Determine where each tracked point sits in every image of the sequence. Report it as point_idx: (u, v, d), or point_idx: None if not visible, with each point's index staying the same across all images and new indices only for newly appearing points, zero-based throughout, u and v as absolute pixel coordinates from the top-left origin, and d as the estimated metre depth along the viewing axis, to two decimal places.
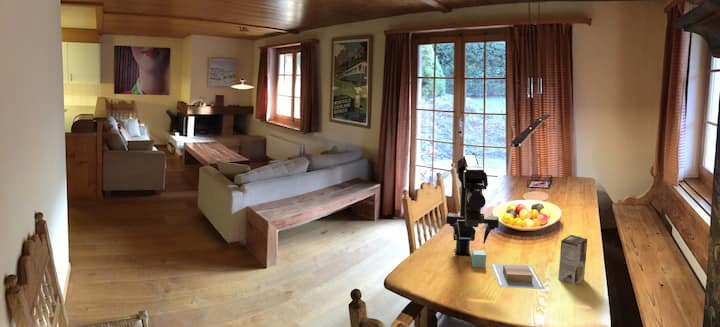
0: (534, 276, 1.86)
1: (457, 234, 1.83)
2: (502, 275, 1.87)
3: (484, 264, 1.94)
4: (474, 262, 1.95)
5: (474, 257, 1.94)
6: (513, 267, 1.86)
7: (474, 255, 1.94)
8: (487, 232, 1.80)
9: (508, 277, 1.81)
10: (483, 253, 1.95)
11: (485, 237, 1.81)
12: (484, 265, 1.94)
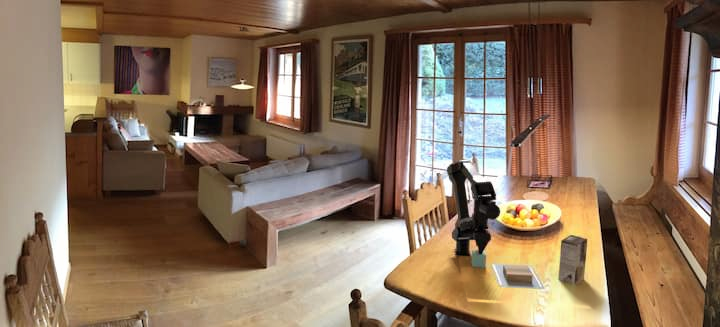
0: (534, 276, 1.86)
1: None
2: (502, 275, 1.87)
3: (484, 264, 1.94)
4: (474, 262, 1.95)
5: (474, 257, 1.94)
6: (513, 267, 1.86)
7: (474, 255, 1.94)
8: (477, 243, 1.90)
9: (508, 277, 1.81)
10: (483, 253, 1.95)
11: (478, 247, 1.91)
12: (484, 265, 1.94)
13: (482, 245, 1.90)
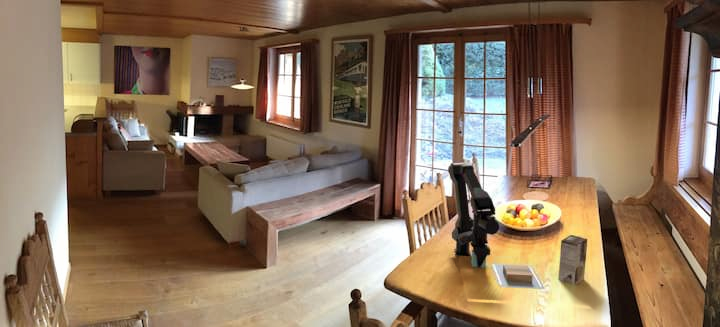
0: (534, 276, 1.86)
1: None
2: (502, 275, 1.87)
3: (484, 264, 1.94)
4: (474, 262, 1.95)
5: (474, 257, 1.94)
6: (513, 267, 1.86)
7: (474, 255, 1.94)
8: (476, 255, 1.93)
9: (508, 277, 1.81)
10: None
11: None
12: (484, 265, 1.94)
13: (481, 258, 1.93)
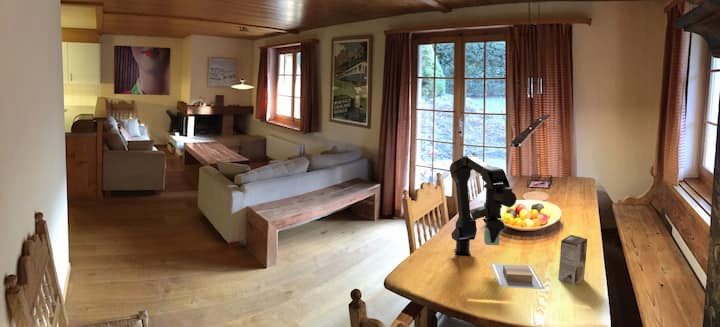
0: (534, 276, 1.86)
1: None
2: (502, 275, 1.87)
3: (497, 240, 1.88)
4: (487, 238, 1.88)
5: (487, 232, 1.88)
6: (513, 267, 1.86)
7: (487, 230, 1.88)
8: (489, 231, 1.87)
9: (508, 277, 1.81)
10: None
11: (490, 236, 1.88)
12: (497, 241, 1.88)
13: (494, 233, 1.86)
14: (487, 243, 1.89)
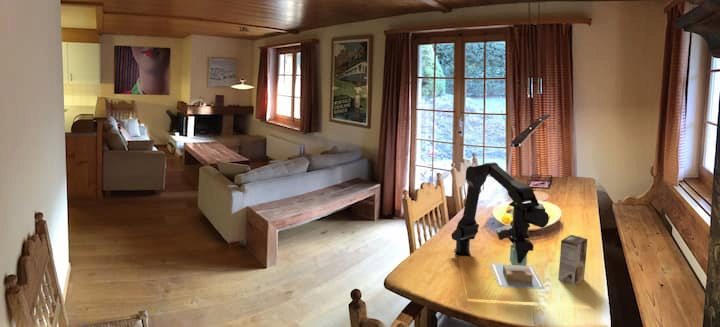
0: (534, 276, 1.86)
1: None
2: (502, 275, 1.87)
3: (525, 260, 1.81)
4: (514, 258, 1.81)
5: (514, 252, 1.81)
6: (513, 267, 1.86)
7: (514, 250, 1.81)
8: None
9: (508, 277, 1.81)
10: None
11: (517, 256, 1.80)
12: (525, 261, 1.81)
13: (522, 253, 1.79)
14: (514, 263, 1.82)
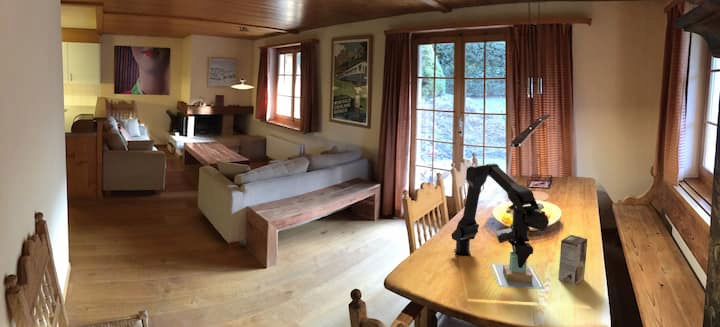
0: (534, 276, 1.86)
1: (513, 251, 1.88)
2: (502, 275, 1.87)
3: (524, 267, 1.81)
4: (514, 265, 1.82)
5: (514, 259, 1.81)
6: None
7: (514, 257, 1.81)
8: (517, 256, 1.78)
9: (508, 277, 1.81)
10: None
11: None
12: (524, 268, 1.81)
13: (522, 258, 1.78)
14: (513, 270, 1.82)
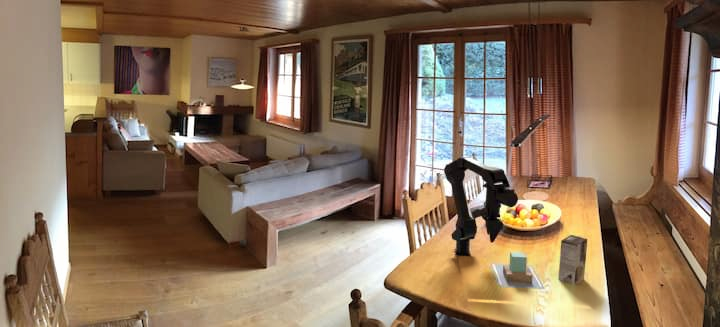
0: (534, 276, 1.86)
1: (486, 227, 2.00)
2: (502, 275, 1.87)
3: (524, 267, 1.81)
4: (514, 265, 1.82)
5: (514, 259, 1.81)
6: None
7: (514, 257, 1.81)
8: (489, 231, 1.90)
9: (508, 277, 1.81)
10: (523, 255, 1.82)
11: None
12: (524, 268, 1.81)
13: (494, 233, 1.90)
14: (513, 270, 1.82)
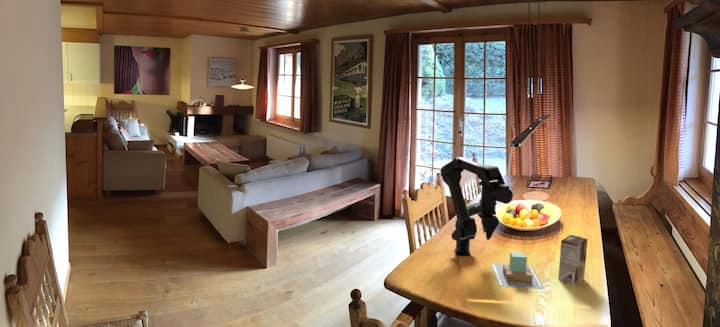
0: (534, 276, 1.86)
1: None
2: (502, 275, 1.87)
3: (524, 267, 1.81)
4: (514, 265, 1.82)
5: (514, 259, 1.81)
6: None
7: (514, 257, 1.81)
8: (485, 228, 1.92)
9: (508, 277, 1.81)
10: (523, 255, 1.82)
11: None
12: (524, 268, 1.81)
13: (490, 230, 1.91)
14: (513, 270, 1.82)
